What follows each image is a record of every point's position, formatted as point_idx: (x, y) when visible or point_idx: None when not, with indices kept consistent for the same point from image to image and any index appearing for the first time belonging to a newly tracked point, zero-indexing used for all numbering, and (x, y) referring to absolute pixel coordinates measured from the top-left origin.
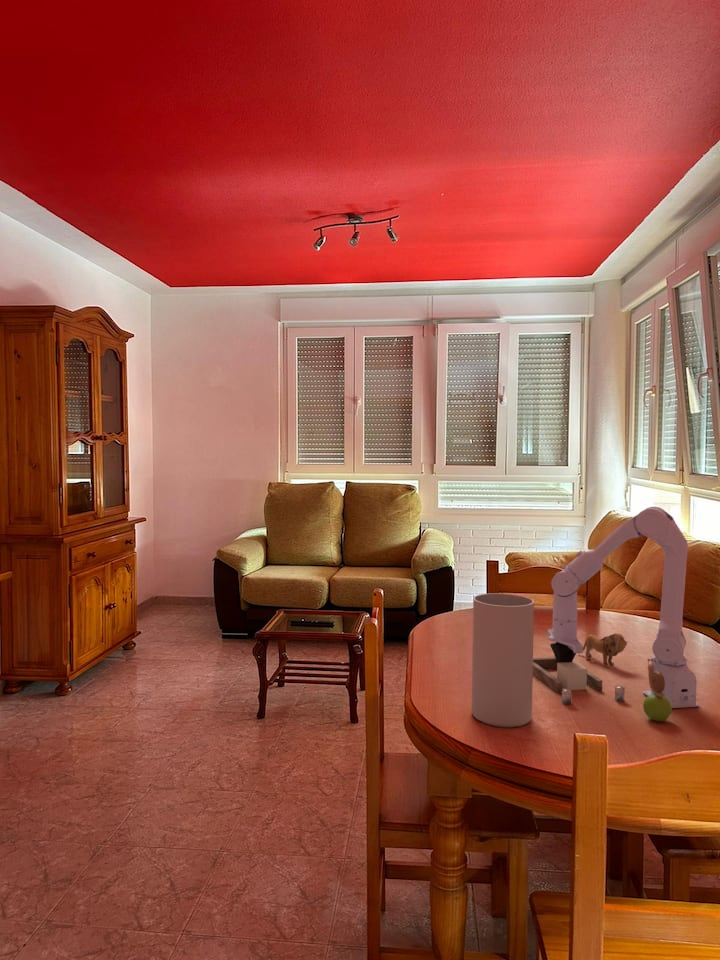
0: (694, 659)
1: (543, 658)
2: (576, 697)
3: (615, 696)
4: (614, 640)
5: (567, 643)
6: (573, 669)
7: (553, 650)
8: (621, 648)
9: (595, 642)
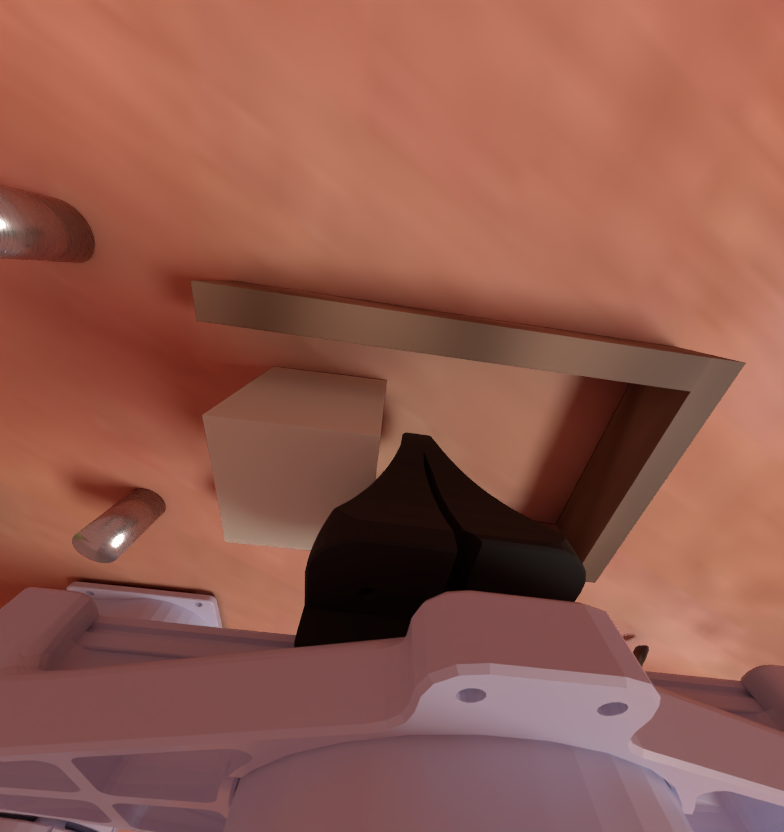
0: None
1: (651, 480)
2: (171, 352)
3: (131, 499)
4: None
5: (85, 714)
6: (210, 458)
7: (497, 513)
8: None
9: None
